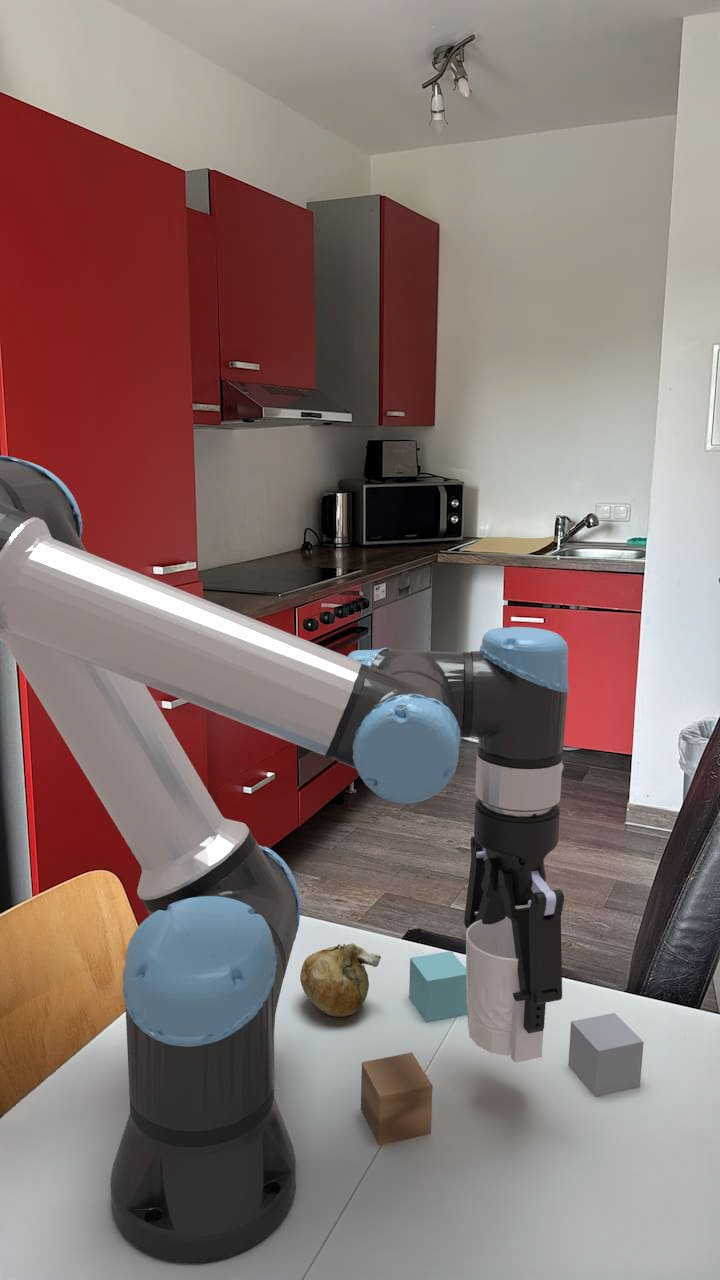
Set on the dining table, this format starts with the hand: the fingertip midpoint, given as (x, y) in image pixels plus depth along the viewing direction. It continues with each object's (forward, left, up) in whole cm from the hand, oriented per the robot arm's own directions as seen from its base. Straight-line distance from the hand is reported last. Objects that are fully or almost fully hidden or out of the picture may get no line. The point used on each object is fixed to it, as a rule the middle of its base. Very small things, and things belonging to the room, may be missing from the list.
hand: (505, 1030), depth 90 cm
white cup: (0, 0, -1) cm, 1 cm away
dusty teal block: (0, +16, -7) cm, 18 cm away
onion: (-11, +19, -7) cm, 23 cm away
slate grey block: (+11, 0, -7) cm, 13 cm away
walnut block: (-11, 0, -7) cm, 13 cm away
